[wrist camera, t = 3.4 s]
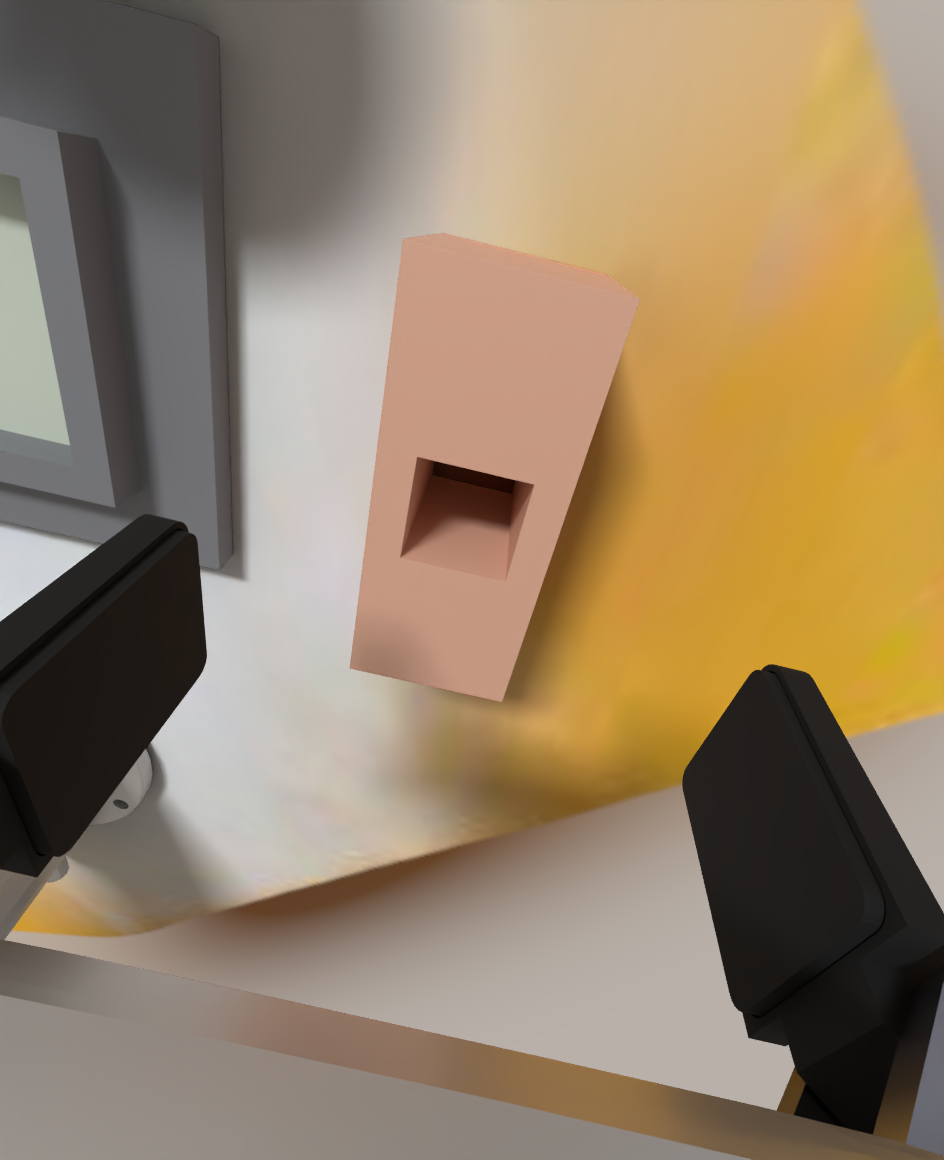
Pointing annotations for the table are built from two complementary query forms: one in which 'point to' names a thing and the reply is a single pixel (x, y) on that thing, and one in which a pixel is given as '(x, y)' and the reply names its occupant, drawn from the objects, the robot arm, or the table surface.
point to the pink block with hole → (478, 454)
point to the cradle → (112, 274)
